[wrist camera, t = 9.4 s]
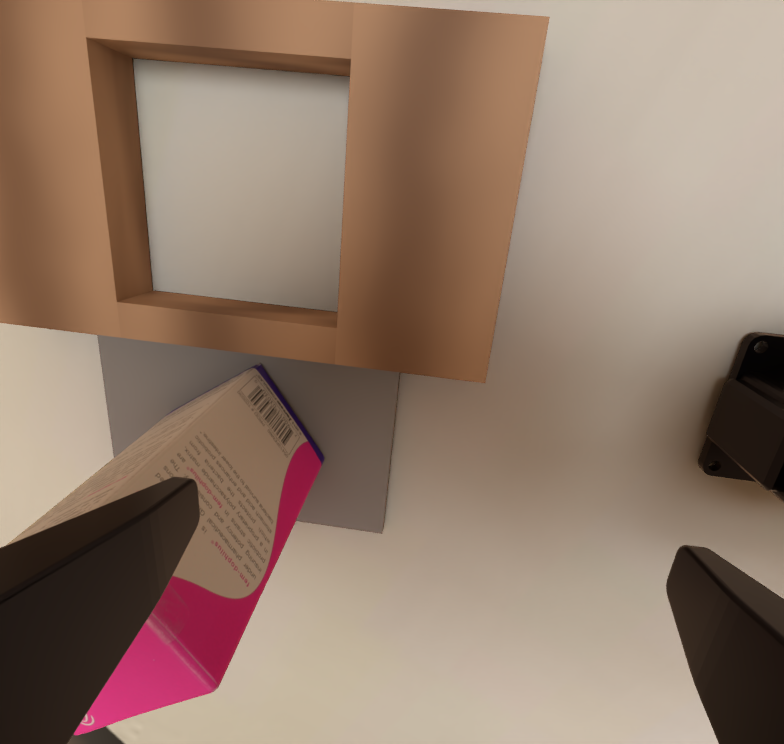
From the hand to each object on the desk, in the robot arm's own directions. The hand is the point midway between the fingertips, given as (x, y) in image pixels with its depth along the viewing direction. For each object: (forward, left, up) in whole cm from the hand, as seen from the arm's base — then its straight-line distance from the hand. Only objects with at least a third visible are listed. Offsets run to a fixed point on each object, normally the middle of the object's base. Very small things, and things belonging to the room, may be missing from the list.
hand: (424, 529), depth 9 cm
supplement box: (+8, +6, -12) cm, 16 cm away
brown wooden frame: (+8, -5, -13) cm, 16 cm away
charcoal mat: (+8, +6, -13) cm, 16 cm away
